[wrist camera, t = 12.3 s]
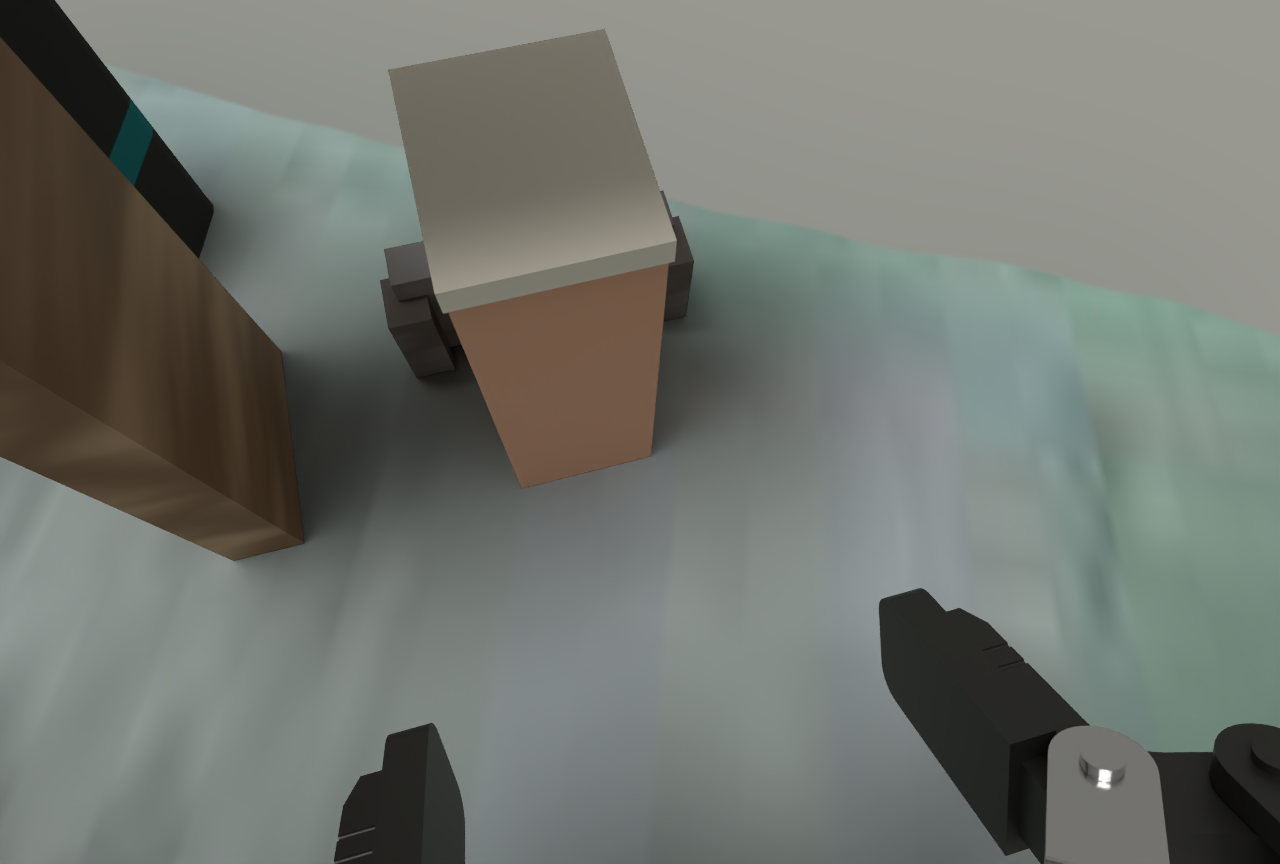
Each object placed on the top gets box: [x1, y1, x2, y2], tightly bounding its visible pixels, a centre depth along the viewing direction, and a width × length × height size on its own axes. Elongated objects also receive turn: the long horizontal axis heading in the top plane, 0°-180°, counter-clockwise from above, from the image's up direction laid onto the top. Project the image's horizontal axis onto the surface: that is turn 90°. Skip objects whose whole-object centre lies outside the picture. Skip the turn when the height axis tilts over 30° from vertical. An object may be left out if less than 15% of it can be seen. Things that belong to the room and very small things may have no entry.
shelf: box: [0, 37, 694, 561], centre depth 20 cm, size 18×8×24 cm, turn 105°
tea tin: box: [388, 29, 677, 488], centre depth 24 cm, size 5×6×14 cm
